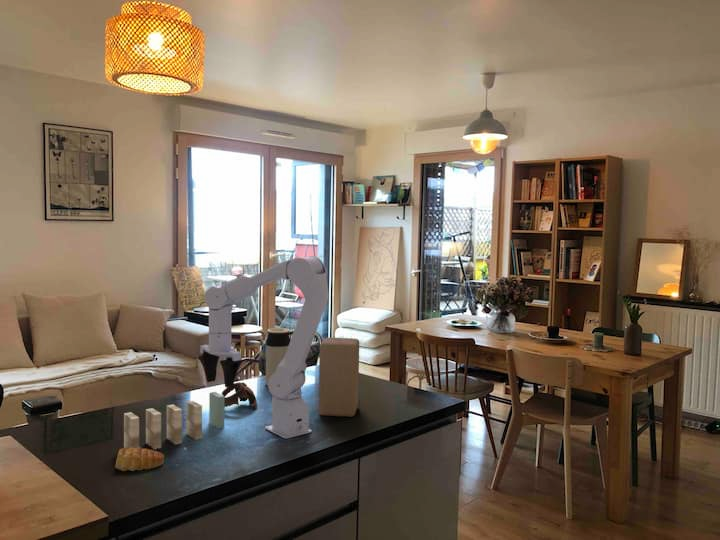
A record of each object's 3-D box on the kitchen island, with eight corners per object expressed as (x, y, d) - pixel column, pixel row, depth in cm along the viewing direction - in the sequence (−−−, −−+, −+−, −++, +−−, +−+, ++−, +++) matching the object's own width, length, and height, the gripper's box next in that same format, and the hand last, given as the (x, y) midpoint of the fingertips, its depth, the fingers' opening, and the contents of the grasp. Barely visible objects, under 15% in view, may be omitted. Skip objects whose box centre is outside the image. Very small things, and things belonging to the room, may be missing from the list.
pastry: (165, 458, 128) (165, 441, 128) (161, 471, 122) (161, 453, 121) (120, 461, 126) (119, 444, 126) (113, 474, 120) (113, 456, 119)
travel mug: (267, 388, 185) (267, 332, 184) (264, 382, 193) (264, 328, 192) (292, 387, 188) (292, 331, 186) (288, 380, 195) (289, 327, 194)
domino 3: (182, 442, 137) (181, 409, 137) (175, 444, 136) (175, 410, 136) (173, 437, 141) (173, 404, 140) (166, 438, 140) (166, 405, 139)
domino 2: (161, 447, 134) (161, 413, 133) (154, 449, 133) (154, 414, 132) (152, 441, 138) (152, 408, 137) (145, 443, 137) (145, 409, 136)
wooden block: (358, 407, 168) (359, 338, 167) (354, 418, 158) (356, 344, 157) (323, 405, 169) (325, 336, 167) (317, 416, 159) (319, 343, 158)
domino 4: (201, 438, 140) (202, 405, 140) (195, 439, 139) (195, 406, 139) (192, 432, 144) (192, 400, 144) (186, 434, 143) (186, 401, 143)
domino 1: (139, 452, 131) (139, 417, 130) (131, 454, 130) (131, 419, 129) (131, 446, 134) (130, 412, 134) (124, 447, 133) (123, 413, 133)
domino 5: (224, 427, 149) (224, 396, 148) (218, 428, 148) (218, 397, 147) (215, 422, 152) (215, 391, 152) (209, 423, 151) (209, 392, 151)
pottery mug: (259, 414, 161) (245, 391, 158) (228, 428, 161) (213, 405, 158) (261, 392, 172) (248, 369, 169) (232, 405, 173) (219, 383, 170)
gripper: (250, 333, 150) (250, 386, 151) (215, 327, 159) (215, 376, 160) (228, 337, 145) (227, 391, 145) (193, 330, 154) (193, 381, 155)
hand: (220, 383), depth 152 cm, fingers open, 7 cm apart
